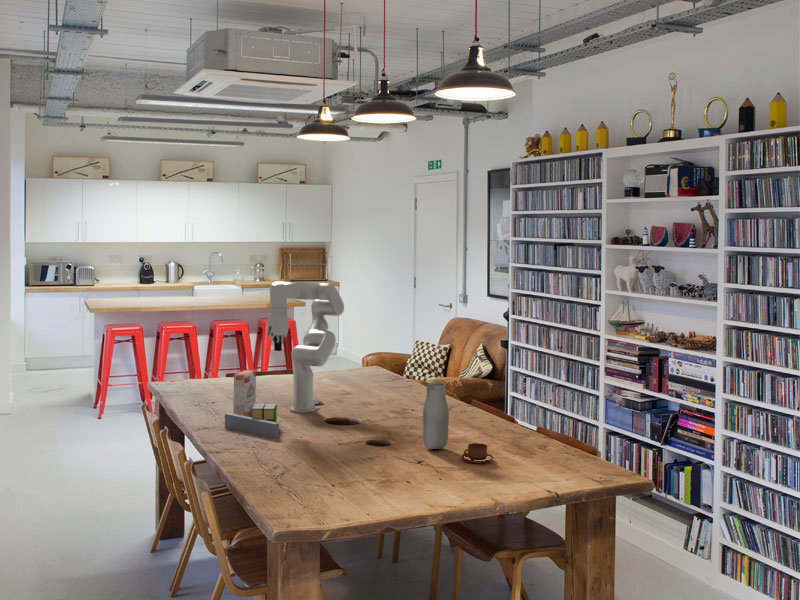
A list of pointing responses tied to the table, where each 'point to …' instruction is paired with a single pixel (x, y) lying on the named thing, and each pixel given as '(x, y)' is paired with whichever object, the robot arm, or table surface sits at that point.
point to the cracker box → (244, 392)
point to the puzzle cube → (265, 412)
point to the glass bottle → (435, 416)
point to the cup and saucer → (476, 452)
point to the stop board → (252, 425)
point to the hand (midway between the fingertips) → (277, 350)
